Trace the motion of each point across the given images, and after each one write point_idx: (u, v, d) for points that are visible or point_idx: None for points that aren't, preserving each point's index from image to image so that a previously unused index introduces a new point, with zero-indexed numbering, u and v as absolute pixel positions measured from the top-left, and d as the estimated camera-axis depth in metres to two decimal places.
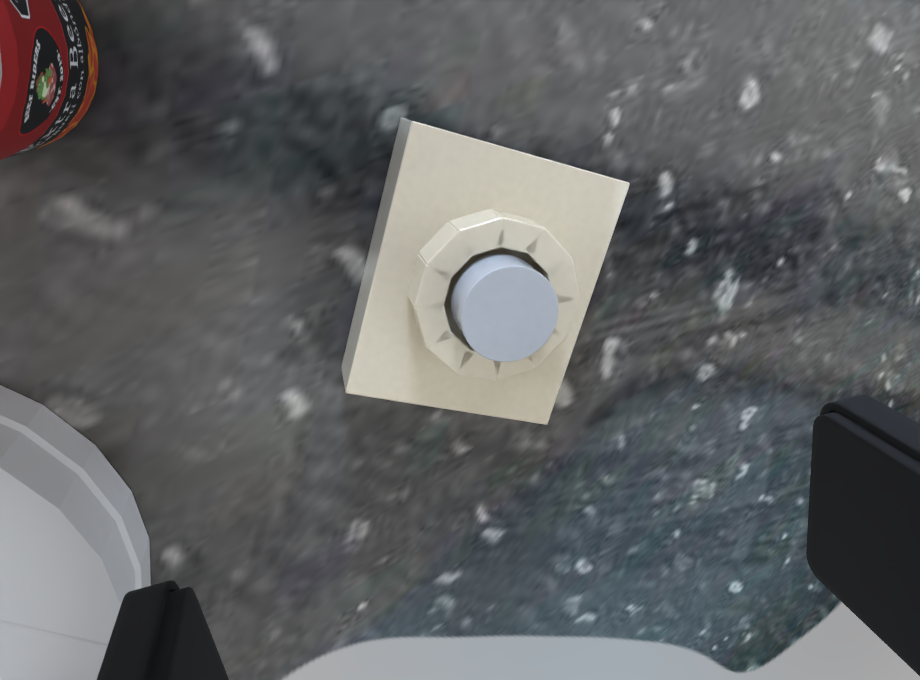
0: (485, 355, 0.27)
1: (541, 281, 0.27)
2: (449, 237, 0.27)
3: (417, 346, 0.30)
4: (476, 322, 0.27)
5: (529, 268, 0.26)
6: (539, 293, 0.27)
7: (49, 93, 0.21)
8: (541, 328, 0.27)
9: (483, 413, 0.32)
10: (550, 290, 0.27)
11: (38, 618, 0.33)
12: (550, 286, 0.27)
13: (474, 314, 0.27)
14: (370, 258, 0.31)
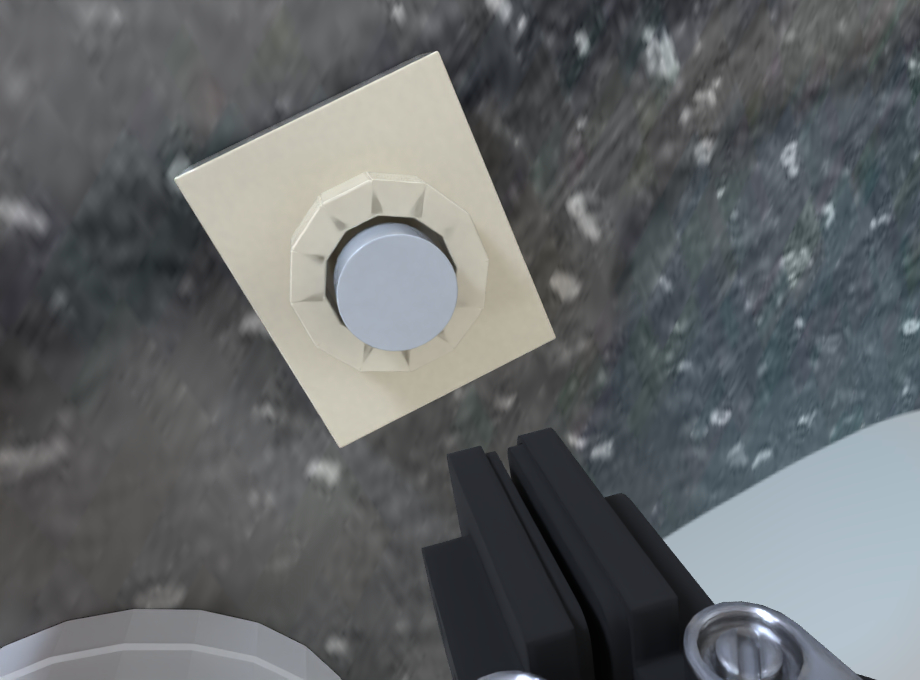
0: (408, 347, 0.23)
1: (399, 241, 0.22)
2: (290, 262, 0.23)
3: None
4: (370, 326, 0.23)
5: (376, 238, 0.22)
6: (407, 253, 0.22)
7: None
8: (440, 282, 0.23)
9: (482, 373, 0.28)
10: (416, 242, 0.22)
11: None
12: (413, 238, 0.22)
13: (362, 321, 0.22)
14: None
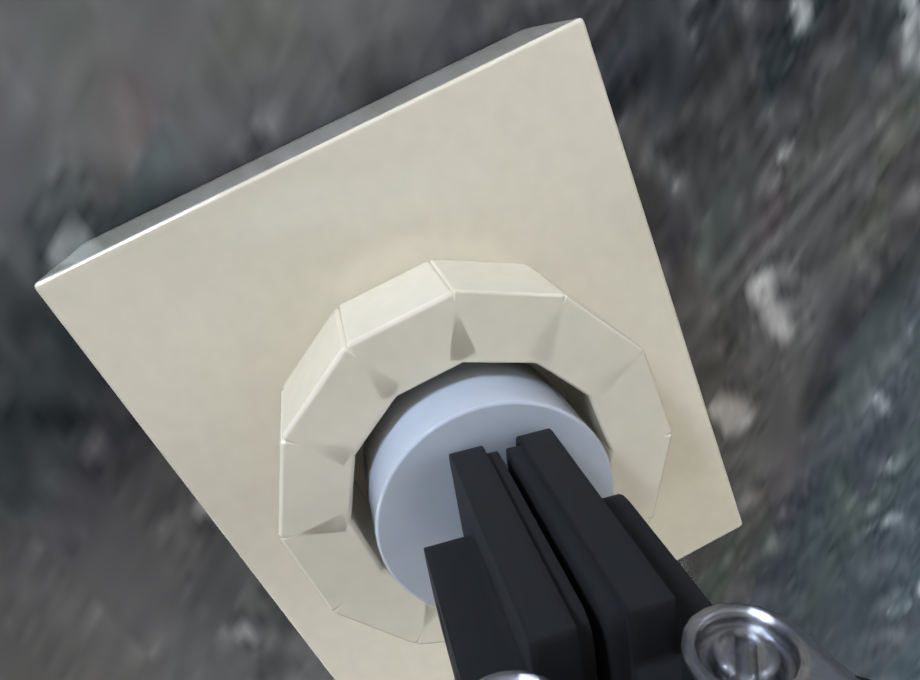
0: None
1: (508, 414, 0.10)
2: (278, 459, 0.11)
3: None
4: None
5: (461, 411, 0.10)
6: None
7: None
8: None
9: None
10: (542, 414, 0.11)
11: None
12: (535, 407, 0.10)
13: (425, 567, 0.11)
14: None
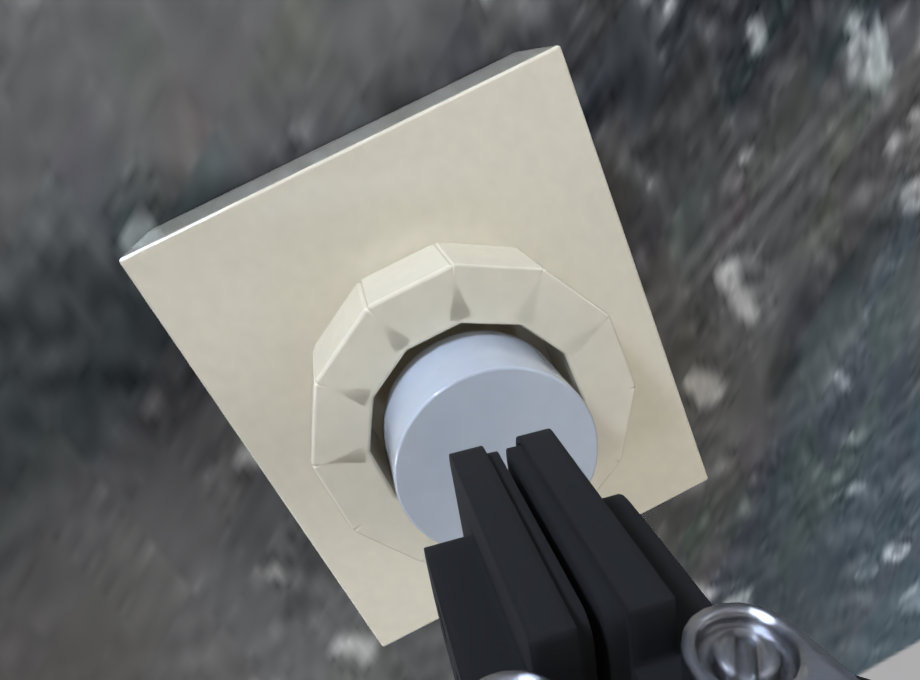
0: None
1: (506, 378, 0.12)
2: (312, 400, 0.14)
3: None
4: (450, 517, 0.13)
5: (466, 375, 0.12)
6: (518, 397, 0.13)
7: None
8: (571, 442, 0.13)
9: None
10: (535, 378, 0.12)
11: None
12: (529, 372, 0.12)
13: (436, 510, 0.13)
14: None
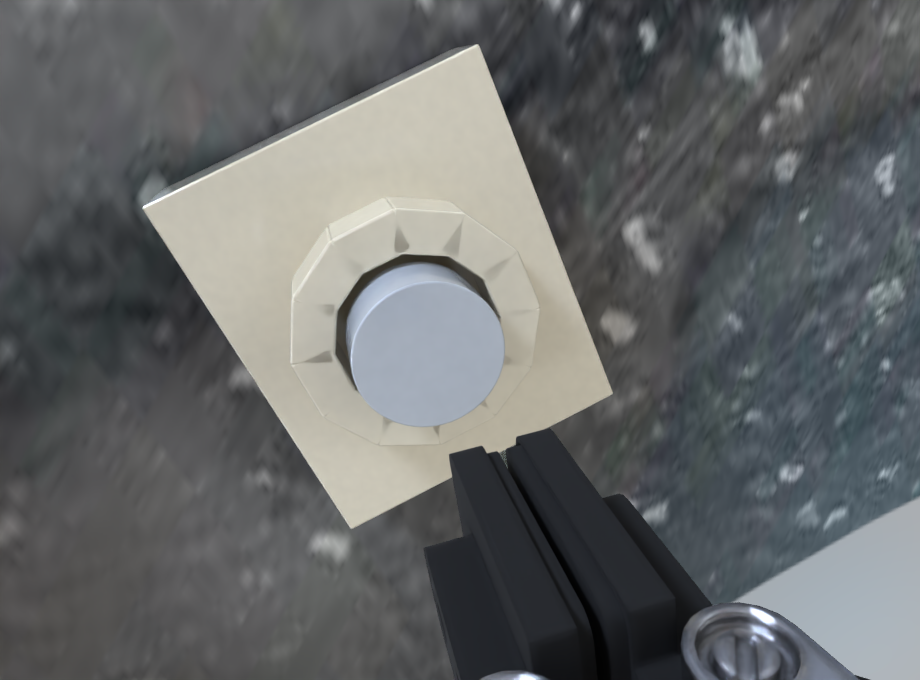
0: (440, 422, 0.18)
1: (432, 290, 0.17)
2: (290, 313, 0.18)
3: None
4: (394, 397, 0.18)
5: (403, 287, 0.17)
6: (442, 305, 0.17)
7: None
8: (484, 341, 0.18)
9: None
10: (454, 291, 0.17)
11: None
12: (450, 286, 0.17)
13: (383, 391, 0.17)
14: None
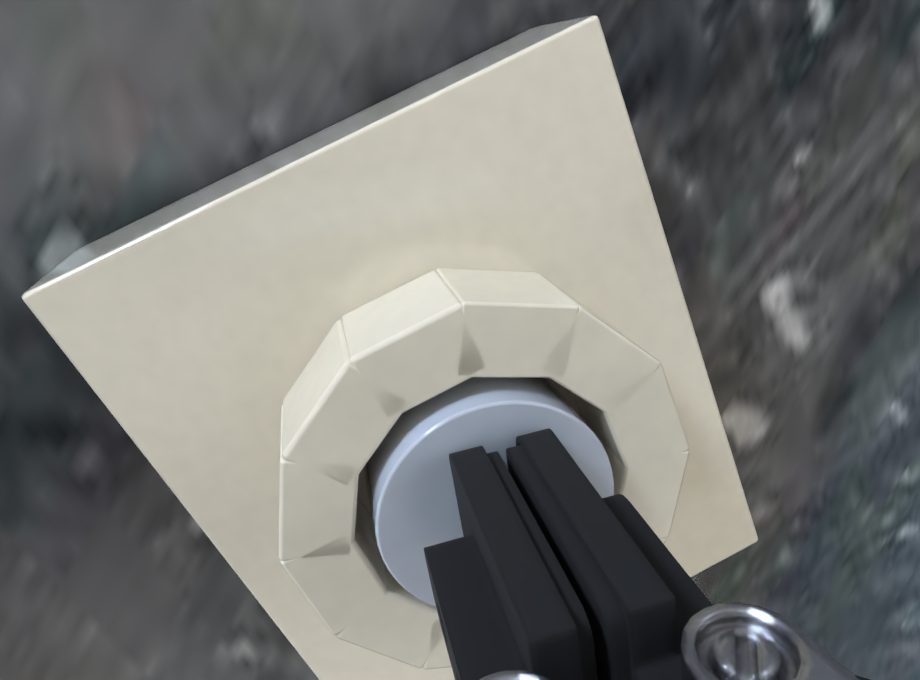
0: None
1: (508, 414, 0.10)
2: (278, 479, 0.10)
3: None
4: None
5: (461, 412, 0.10)
6: None
7: None
8: None
9: None
10: (542, 414, 0.11)
11: None
12: (535, 407, 0.10)
13: (425, 567, 0.11)
14: None
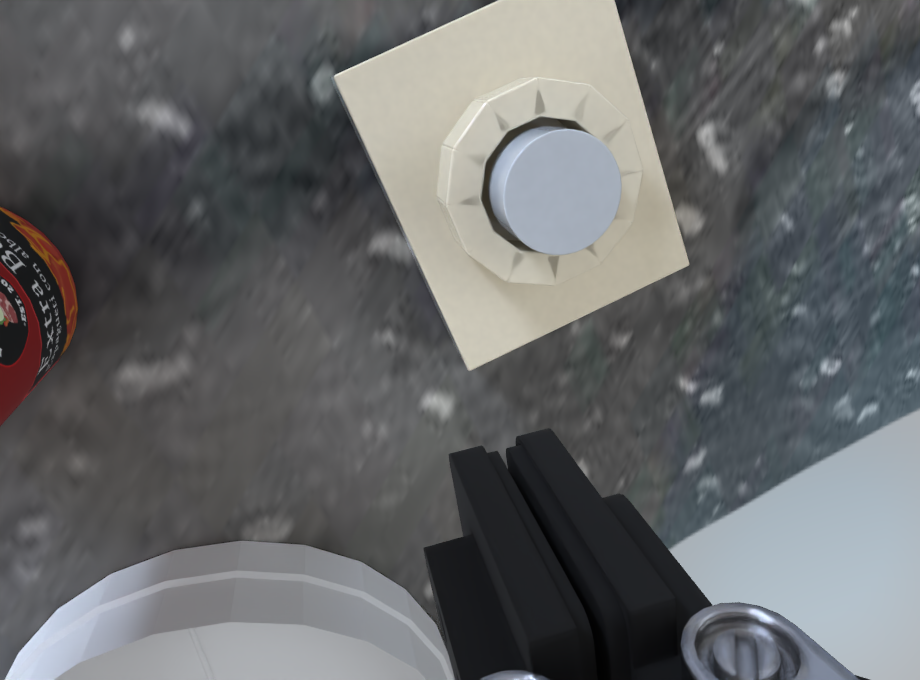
0: (567, 251, 0.23)
1: (570, 136, 0.21)
2: (449, 162, 0.23)
3: (504, 283, 0.26)
4: (533, 227, 0.22)
5: (548, 133, 0.21)
6: (577, 149, 0.22)
7: (6, 312, 0.20)
8: (606, 183, 0.22)
9: (615, 299, 0.28)
10: (587, 138, 0.21)
11: None
12: (584, 134, 0.21)
13: (525, 220, 0.22)
14: (402, 232, 0.27)
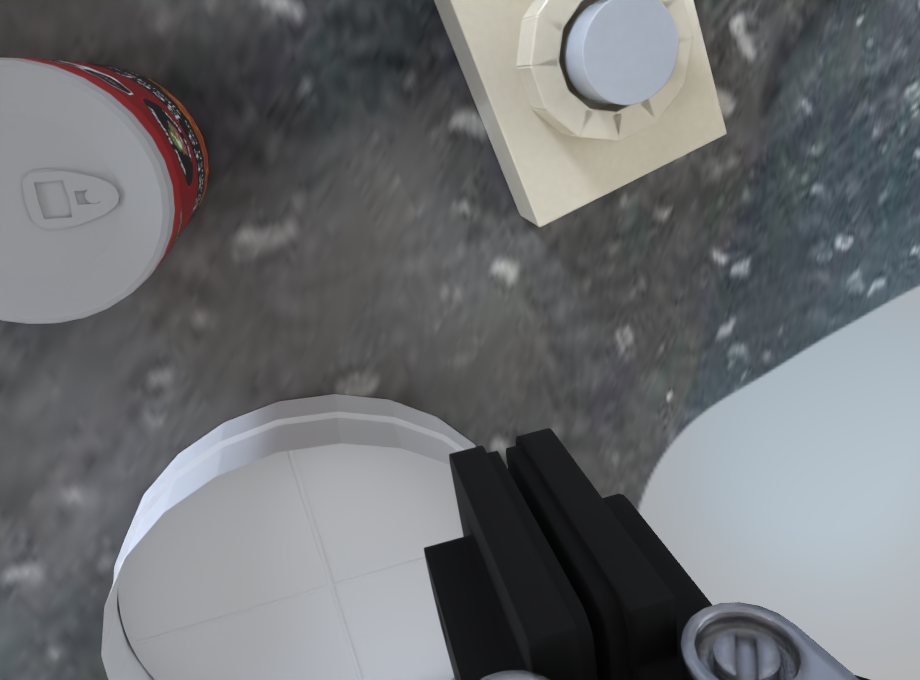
0: (633, 102, 0.27)
1: None
2: (533, 28, 0.27)
3: (570, 147, 0.31)
4: (606, 79, 0.26)
5: None
6: (643, 10, 0.26)
7: (181, 144, 0.24)
8: (666, 41, 0.26)
9: (663, 163, 0.32)
10: (651, 0, 0.26)
11: None
12: None
13: (600, 73, 0.26)
14: (481, 106, 0.31)
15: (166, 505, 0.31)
